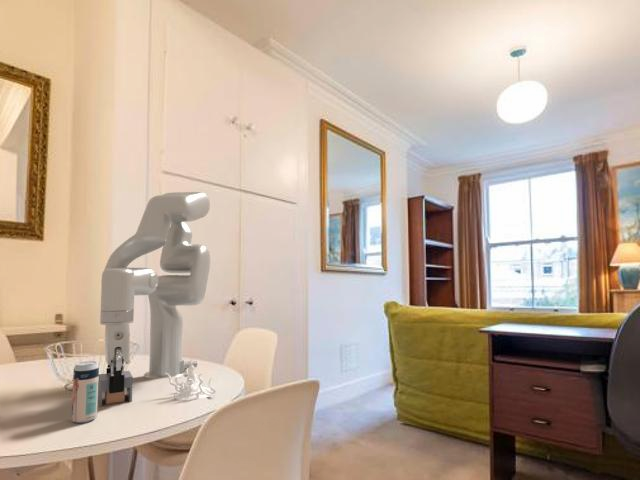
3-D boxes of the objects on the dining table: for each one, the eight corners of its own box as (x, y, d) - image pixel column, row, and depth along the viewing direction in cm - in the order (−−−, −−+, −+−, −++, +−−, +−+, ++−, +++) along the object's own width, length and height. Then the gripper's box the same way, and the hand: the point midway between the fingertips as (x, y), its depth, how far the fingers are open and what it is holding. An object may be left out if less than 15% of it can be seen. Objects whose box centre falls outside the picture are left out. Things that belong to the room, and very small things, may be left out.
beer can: (78, 416, 89) (80, 361, 90) (101, 415, 90) (102, 360, 91) (66, 424, 85) (69, 366, 85) (90, 423, 85) (92, 365, 86)
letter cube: (122, 397, 103) (123, 380, 104) (124, 401, 100) (125, 383, 100) (104, 399, 101) (105, 382, 101) (106, 404, 98) (106, 386, 98)
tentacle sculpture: (218, 396, 103) (218, 359, 104) (168, 404, 98) (169, 365, 98) (209, 387, 111) (209, 353, 112) (163, 394, 105) (163, 358, 106)
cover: (128, 394, 105) (129, 370, 106) (131, 401, 99) (132, 376, 100) (97, 398, 102) (98, 374, 102) (99, 406, 96) (100, 380, 96)
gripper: (138, 319, 97) (135, 394, 95) (129, 313, 111) (127, 377, 110) (102, 321, 93) (99, 399, 91) (98, 315, 107) (95, 381, 106)
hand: (114, 387), depth 101 cm, fingers open, 8 cm apart
